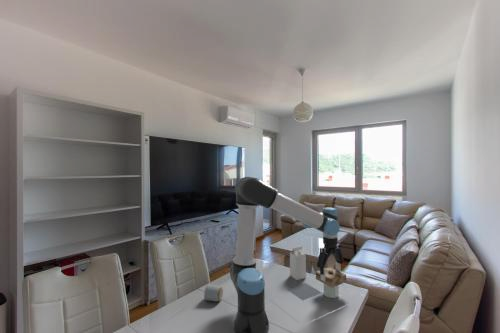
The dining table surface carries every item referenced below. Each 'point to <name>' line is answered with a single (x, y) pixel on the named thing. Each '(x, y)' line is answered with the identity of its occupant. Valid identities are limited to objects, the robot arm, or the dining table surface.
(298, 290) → the mat
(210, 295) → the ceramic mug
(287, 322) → the dining table surface
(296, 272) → the milk carton
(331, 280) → the lid
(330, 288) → the octagonal pipe section
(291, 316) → the dining table surface
